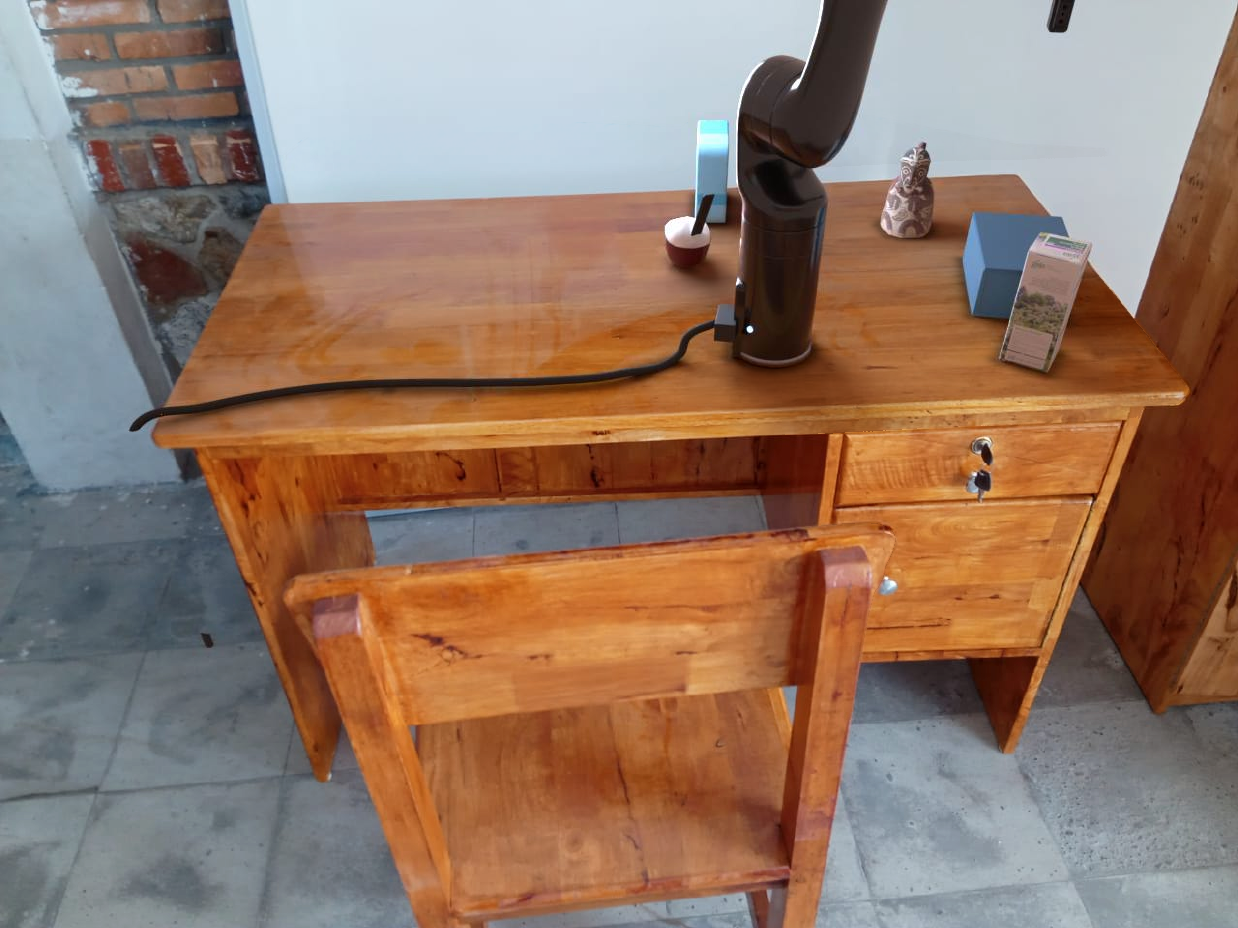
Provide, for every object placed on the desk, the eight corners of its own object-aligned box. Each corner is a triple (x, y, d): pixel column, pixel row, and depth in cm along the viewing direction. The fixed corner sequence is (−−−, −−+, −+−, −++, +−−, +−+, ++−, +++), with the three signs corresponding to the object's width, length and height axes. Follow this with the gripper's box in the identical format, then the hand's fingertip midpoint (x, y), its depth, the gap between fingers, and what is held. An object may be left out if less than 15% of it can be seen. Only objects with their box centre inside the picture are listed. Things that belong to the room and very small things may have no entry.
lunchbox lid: (1081, 279, 114) (1083, 274, 114) (984, 272, 116) (985, 267, 116) (1060, 220, 126) (1061, 216, 126) (972, 215, 128) (973, 211, 128)
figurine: (872, 230, 140) (884, 150, 132) (891, 213, 144) (904, 134, 137) (919, 242, 137) (935, 160, 129) (937, 224, 141) (953, 144, 134)
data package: (725, 226, 142) (729, 147, 134) (694, 226, 142) (697, 147, 135) (724, 193, 151) (728, 117, 144) (696, 193, 152) (698, 117, 144)
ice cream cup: (662, 248, 137) (663, 167, 129) (706, 247, 137) (709, 166, 129) (668, 280, 130) (668, 196, 122) (714, 279, 130) (717, 195, 122)
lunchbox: (1065, 323, 119) (1080, 275, 115) (971, 316, 121) (983, 269, 117) (1047, 266, 130) (1060, 221, 126) (962, 260, 132) (972, 215, 128)
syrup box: (1059, 351, 114) (1095, 239, 105) (1047, 375, 110) (1082, 261, 101) (1010, 338, 117) (1041, 228, 107) (996, 361, 113) (1027, 249, 104)
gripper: (1053, -144, 111) (1017, 15, 122) (1072, -126, 101) (1031, 46, 112) (1122, -144, 110) (1079, 17, 121) (1148, -126, 100) (1099, 48, 111)
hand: (1056, 31), depth 116 cm, fingers closed
